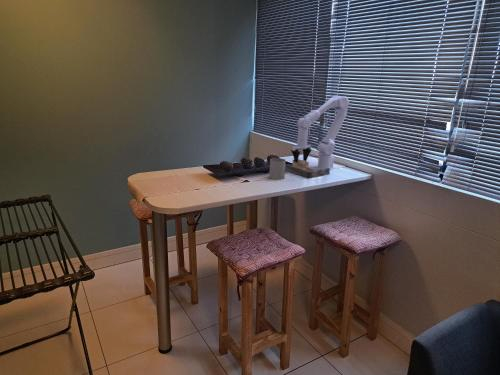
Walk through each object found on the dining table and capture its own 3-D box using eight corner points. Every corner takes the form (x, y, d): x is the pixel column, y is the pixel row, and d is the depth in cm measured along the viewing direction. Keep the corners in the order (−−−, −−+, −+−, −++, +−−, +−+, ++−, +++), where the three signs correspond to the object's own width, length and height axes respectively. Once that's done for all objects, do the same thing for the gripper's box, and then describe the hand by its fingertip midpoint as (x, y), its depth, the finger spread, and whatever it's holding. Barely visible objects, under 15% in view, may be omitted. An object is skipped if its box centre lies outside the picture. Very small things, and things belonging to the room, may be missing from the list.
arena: (300, 166, 215) (300, 160, 214) (329, 175, 198) (329, 168, 197) (280, 170, 205) (280, 163, 204) (309, 179, 188) (309, 172, 187)
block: (297, 166, 211) (297, 158, 210) (308, 170, 204) (308, 162, 203) (292, 167, 208) (292, 159, 207) (302, 171, 202) (303, 162, 200)
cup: (284, 180, 186) (286, 161, 182) (269, 179, 186) (270, 161, 183) (283, 175, 194) (284, 158, 190) (269, 175, 194) (270, 157, 191)
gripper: (305, 136, 208) (303, 158, 212) (288, 138, 199) (287, 161, 204) (314, 138, 203) (312, 161, 207) (297, 140, 194) (295, 163, 198)
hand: (300, 161), depth 205 cm, fingers open, 7 cm apart
